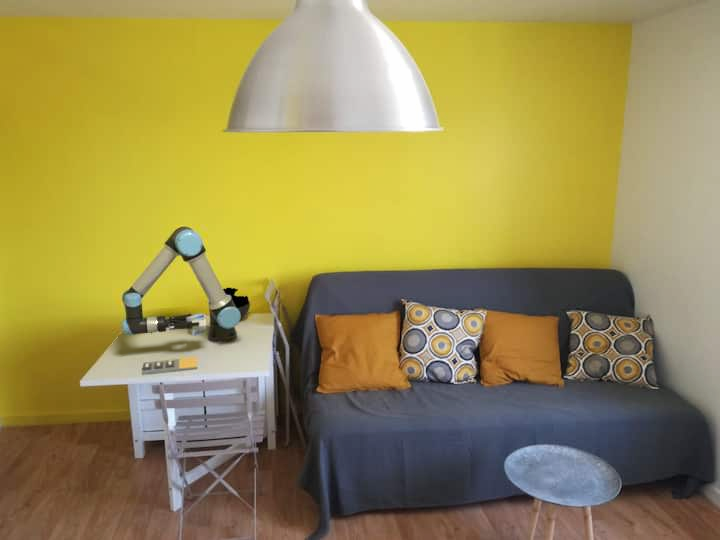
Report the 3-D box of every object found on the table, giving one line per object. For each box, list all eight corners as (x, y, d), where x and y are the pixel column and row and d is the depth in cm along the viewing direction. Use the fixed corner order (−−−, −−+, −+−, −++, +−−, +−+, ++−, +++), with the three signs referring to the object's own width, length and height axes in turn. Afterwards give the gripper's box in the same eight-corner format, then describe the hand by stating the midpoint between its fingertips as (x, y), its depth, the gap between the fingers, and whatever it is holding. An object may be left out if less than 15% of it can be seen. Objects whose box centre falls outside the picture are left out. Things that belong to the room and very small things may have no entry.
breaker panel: (196, 359, 295) (196, 353, 294) (197, 369, 283) (197, 363, 282) (143, 364, 288) (143, 358, 288) (142, 375, 276) (141, 368, 275)
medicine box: (193, 335, 295) (192, 318, 293) (187, 334, 298) (185, 317, 295) (205, 331, 301) (204, 314, 299) (199, 329, 304) (198, 312, 302)
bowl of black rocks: (235, 313, 366) (233, 282, 362) (258, 319, 354) (256, 288, 350) (208, 321, 351) (206, 289, 347) (230, 328, 339) (228, 295, 335)
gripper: (158, 325, 304) (205, 320, 310) (157, 339, 284) (207, 334, 290) (156, 310, 302) (204, 306, 308) (155, 323, 283) (206, 318, 289)
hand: (205, 319), depth 299 cm, fingers closed on medicine box, 8 cm apart
